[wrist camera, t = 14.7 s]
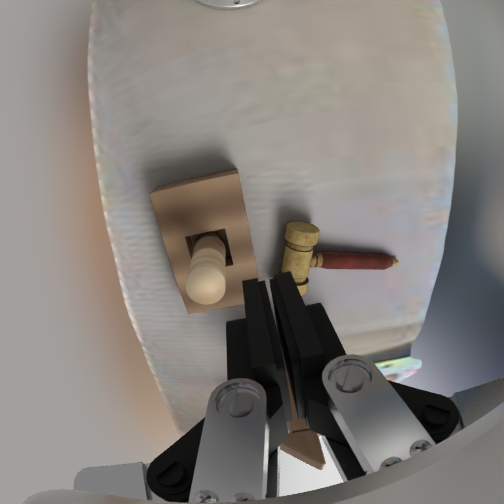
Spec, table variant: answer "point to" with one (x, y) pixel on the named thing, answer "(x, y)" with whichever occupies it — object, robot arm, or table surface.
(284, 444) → the wooden toy
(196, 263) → the wooden pepper mill
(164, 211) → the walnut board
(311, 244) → the gavel
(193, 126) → the table surface
